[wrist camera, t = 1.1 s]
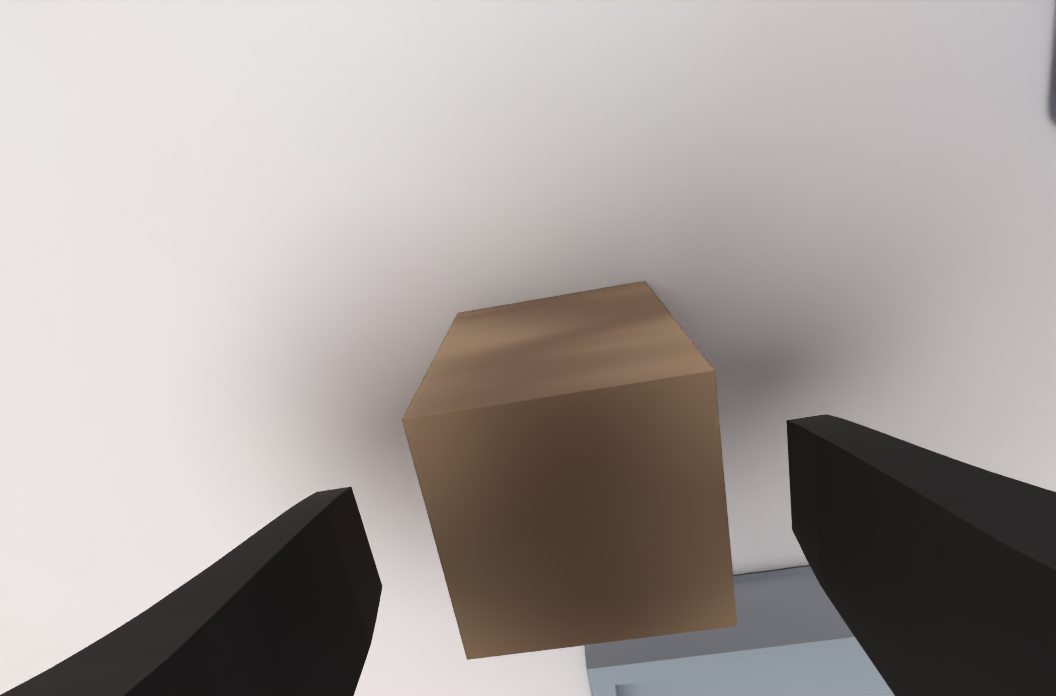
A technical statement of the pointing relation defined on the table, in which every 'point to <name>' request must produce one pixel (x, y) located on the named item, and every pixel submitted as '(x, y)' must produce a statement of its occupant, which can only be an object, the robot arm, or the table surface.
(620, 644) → the tray
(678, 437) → the walnut block
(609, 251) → the table surface
